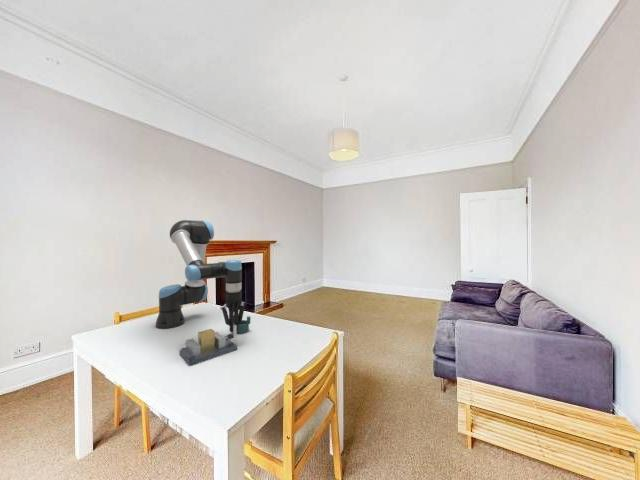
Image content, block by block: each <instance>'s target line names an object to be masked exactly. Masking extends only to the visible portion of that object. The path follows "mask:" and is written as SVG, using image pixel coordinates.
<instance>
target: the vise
mask: <svg viewBox="0 0 640 480" xmlns="http://www.w3.org/2000/svg"><path fill="white" fill-rule="evenodd" d="M225 343H226V347H225V348H222V349H218V348H217V347H216V346H215V348H213V349H210V350H207V351H204V352H201V346H200V345H199V344H198V341H196V340H195V339H194V338H190V339H187V340H185V347H181V348H180V349H179V356H180V357H181V358H182V359H183V361H185V363H186V364H187V365H188V367H191V366H194V365H197V364H200V363H203V362H206V361H209V360H212V359H215V358H217V356H218V357H220V356H223V355H225V354H226V355H227V354H229V353H231V352H232V353H233V352H235V351H238V345H237V344H235V343H234V342H232V341H231V339H228V340H225ZM214 357H215V358H214ZM211 358H212V359H211ZM208 359H209V360H208ZM205 360H206V361H205ZM202 361H203V362H202ZM199 362H200V363H199Z"/></svg>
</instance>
